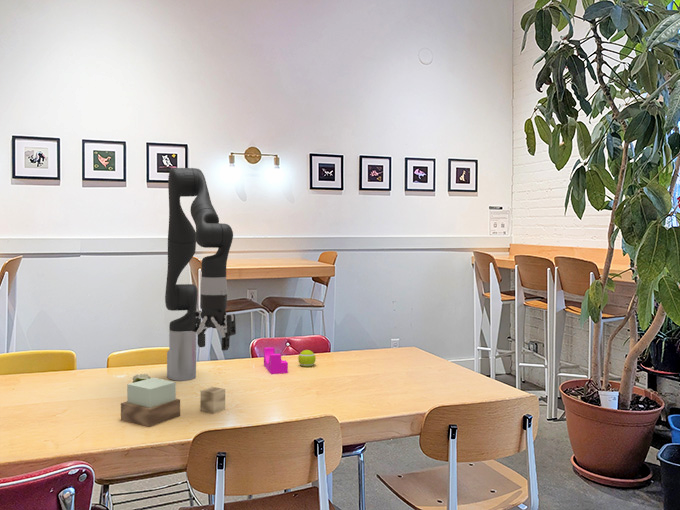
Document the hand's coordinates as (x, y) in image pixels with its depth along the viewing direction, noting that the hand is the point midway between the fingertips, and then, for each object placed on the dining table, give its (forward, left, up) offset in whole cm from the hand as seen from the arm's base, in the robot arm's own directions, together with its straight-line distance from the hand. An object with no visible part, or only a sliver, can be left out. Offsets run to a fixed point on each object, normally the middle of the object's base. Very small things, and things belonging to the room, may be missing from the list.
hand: (213, 348), depth 166 cm
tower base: (-10, -14, -18) cm, 25 cm away
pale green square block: (-10, -14, -13) cm, 22 cm away
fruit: (-26, -1, -18) cm, 32 cm away
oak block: (0, 0, -18) cm, 18 cm away
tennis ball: (-5, +61, -18) cm, 64 cm away
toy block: (-13, +51, -18) cm, 55 cm away
